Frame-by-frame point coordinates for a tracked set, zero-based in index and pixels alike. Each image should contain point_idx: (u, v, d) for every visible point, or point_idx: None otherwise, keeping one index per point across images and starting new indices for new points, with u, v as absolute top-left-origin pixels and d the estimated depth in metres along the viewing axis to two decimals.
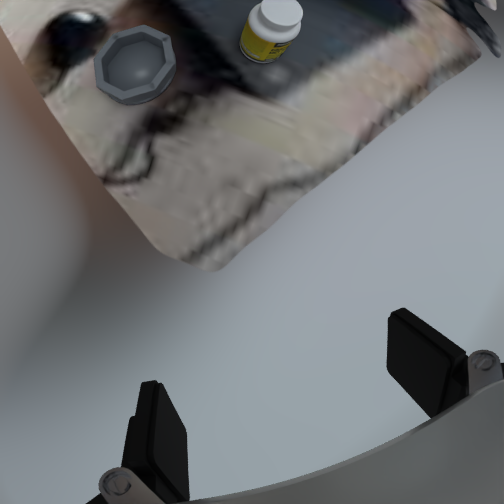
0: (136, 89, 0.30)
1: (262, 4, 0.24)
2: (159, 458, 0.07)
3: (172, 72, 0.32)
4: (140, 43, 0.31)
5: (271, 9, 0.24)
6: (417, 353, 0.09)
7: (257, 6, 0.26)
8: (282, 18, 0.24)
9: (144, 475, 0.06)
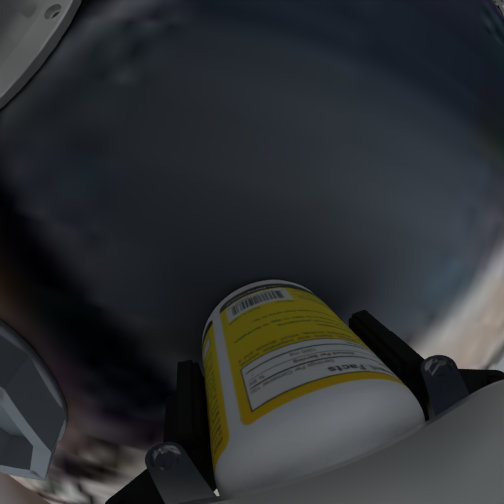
0: (14, 469, 0.10)
1: None
2: (204, 430, 0.08)
3: (58, 434, 0.12)
4: None
5: None
6: None
7: (255, 473, 0.05)
8: None
9: (189, 448, 0.07)
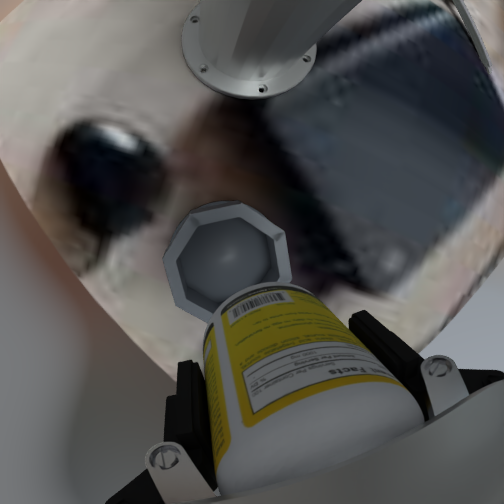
0: None
1: None
2: (204, 430, 0.08)
3: None
4: None
5: None
6: None
7: (256, 475, 0.05)
8: None
9: (189, 448, 0.07)
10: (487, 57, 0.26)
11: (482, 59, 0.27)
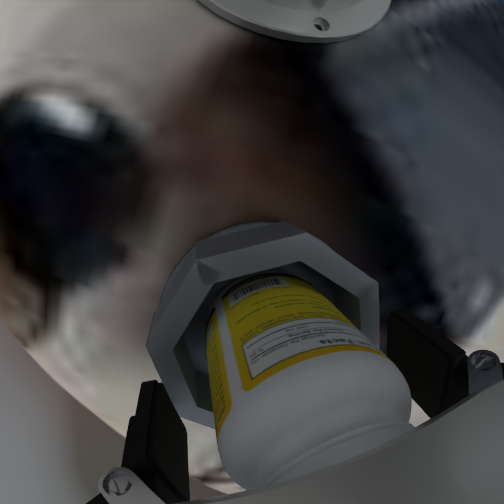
0: None
1: None
2: (159, 458, 0.07)
3: None
4: None
5: None
6: (417, 353, 0.09)
7: (254, 434, 0.06)
8: None
9: (144, 475, 0.06)
10: None
11: None
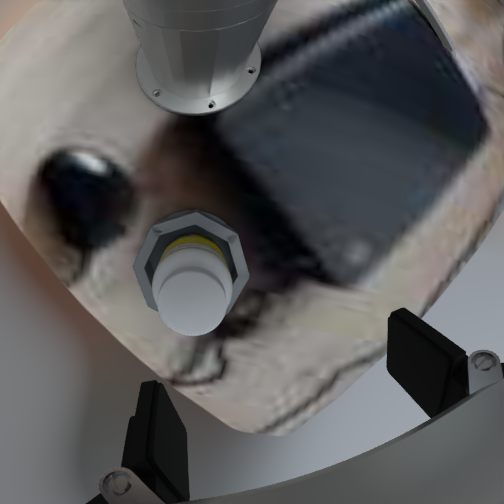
0: None
1: (159, 303, 0.19)
2: (159, 458, 0.07)
3: None
4: None
5: (174, 309, 0.19)
6: (417, 353, 0.09)
7: (159, 274, 0.21)
8: (193, 323, 0.20)
9: (144, 475, 0.06)
10: (448, 41, 0.28)
11: (444, 44, 0.29)
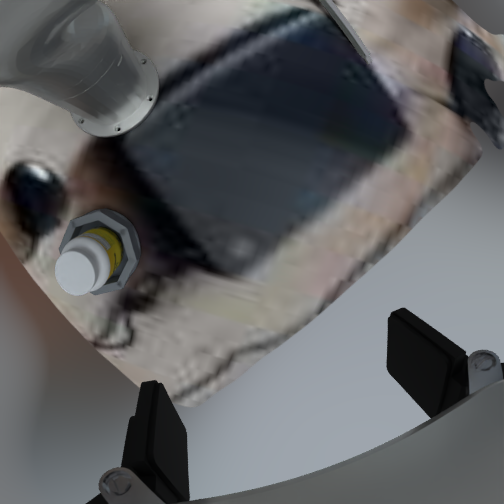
0: (105, 286, 0.35)
1: (55, 271, 0.26)
2: (159, 458, 0.07)
3: (137, 261, 0.37)
4: None
5: (64, 276, 0.26)
6: (417, 353, 0.09)
7: (62, 253, 0.28)
8: (76, 286, 0.27)
9: (144, 475, 0.06)
10: (361, 48, 0.35)
11: (358, 51, 0.36)
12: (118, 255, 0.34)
